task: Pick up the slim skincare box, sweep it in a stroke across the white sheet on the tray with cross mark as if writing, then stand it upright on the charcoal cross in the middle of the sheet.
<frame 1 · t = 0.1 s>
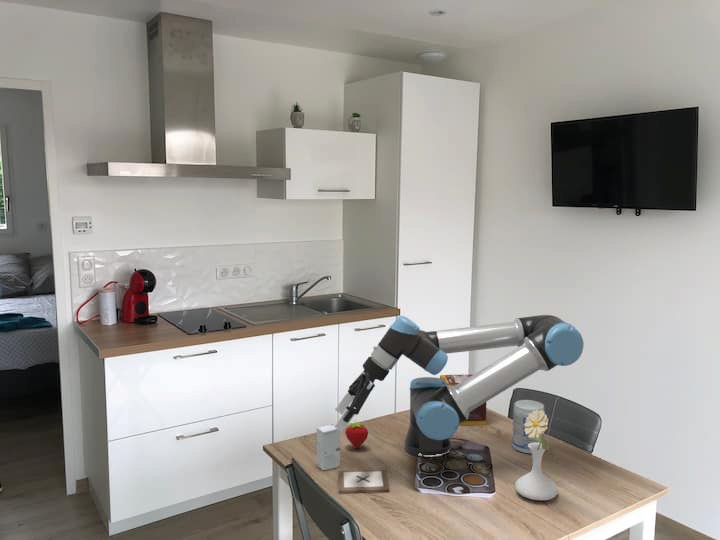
hand: (338, 420, 178), 15 cm above the table, tool tilted 35°, fingers open, 13 cm apart
supplement tub: (527, 448, 194), on the table
supplement box: (462, 420, 218), on the table
skincare box: (328, 466, 183), on the table
flower in vase: (536, 496, 164), on the table
strawberry: (356, 448, 195), on the table
tray with cross mark: (363, 482, 172), on the table
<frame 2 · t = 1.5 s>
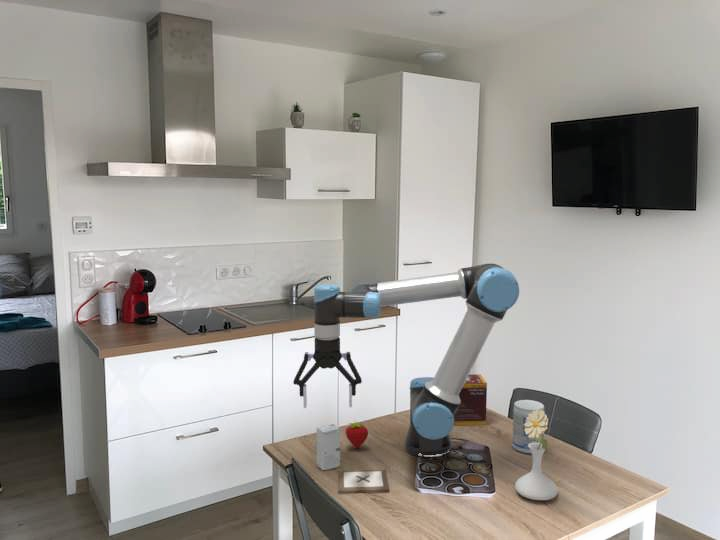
hand: (327, 406, 180), 19 cm above the table, tool pointing down, fingers open, 13 cm apart
nothing on the table moved.
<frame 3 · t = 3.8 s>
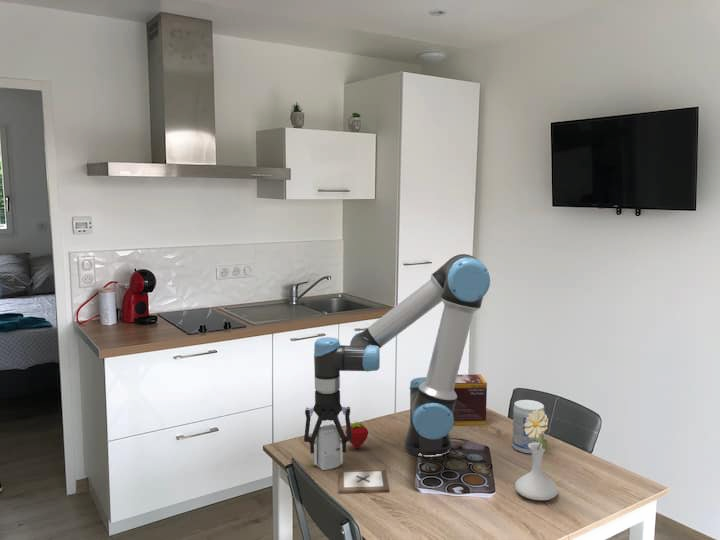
hand: (328, 462, 182), 1 cm above the table, tool pointing down, fingers closed on skincare box, 7 cm apart
skincare box: (328, 466, 183), on the table, touching gripper
everything else where it was.
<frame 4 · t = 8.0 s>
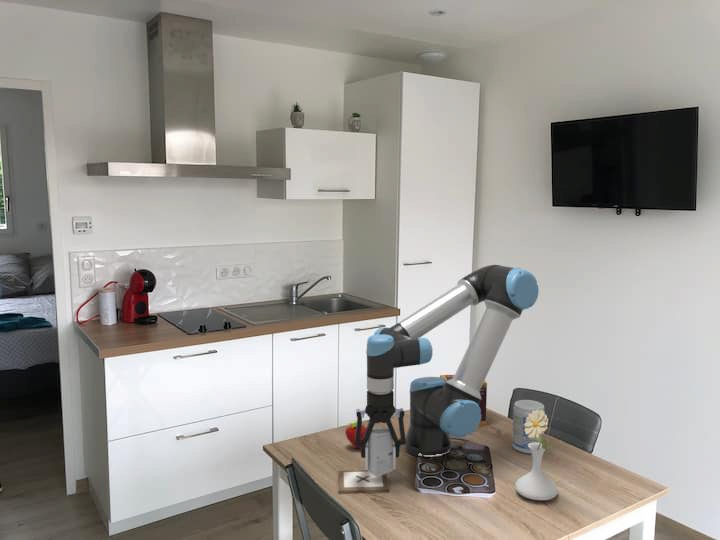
hand: (380, 467, 172), 4 cm above the table, tool pointing down, fingers closed on skincare box, 7 cm apart
skincare box: (380, 471, 172), point 3 cm above the table, touching gripper
everything else where it was.
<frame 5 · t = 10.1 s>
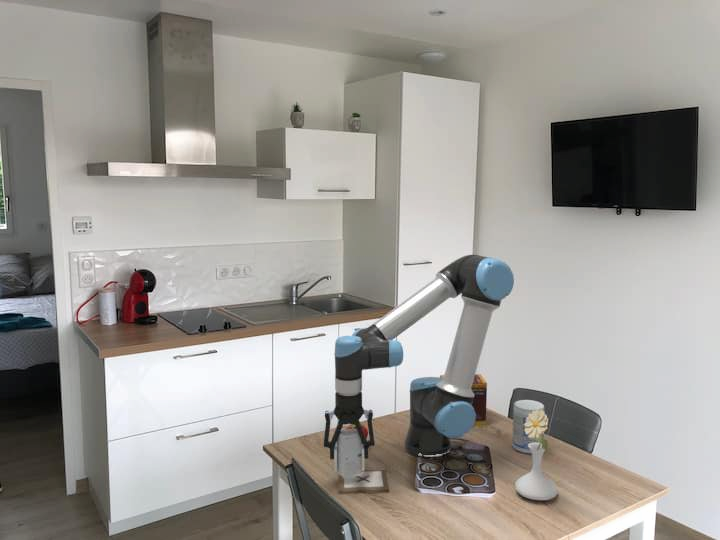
hand: (349, 469, 171), 4 cm above the table, tool pointing down, fingers closed on skincare box, 7 cm apart
skincare box: (349, 473, 171), point 3 cm above the table, touching gripper
everything else where it was.
when the fingers open (3 cm above the table, at t = 12.1 s): skincare box stays where it is, resting on tray with cross mark.
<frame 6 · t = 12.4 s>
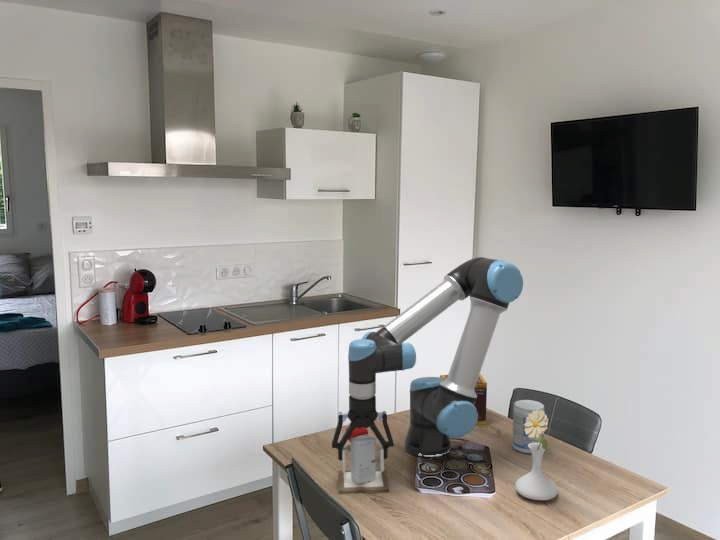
hand: (362, 469, 172), 4 cm above the table, tool pointing down, fingers open, 10 cm apart
skincare box: (363, 479, 172), point 1 cm above the table, touching tray with cross mark
everything else where it was.
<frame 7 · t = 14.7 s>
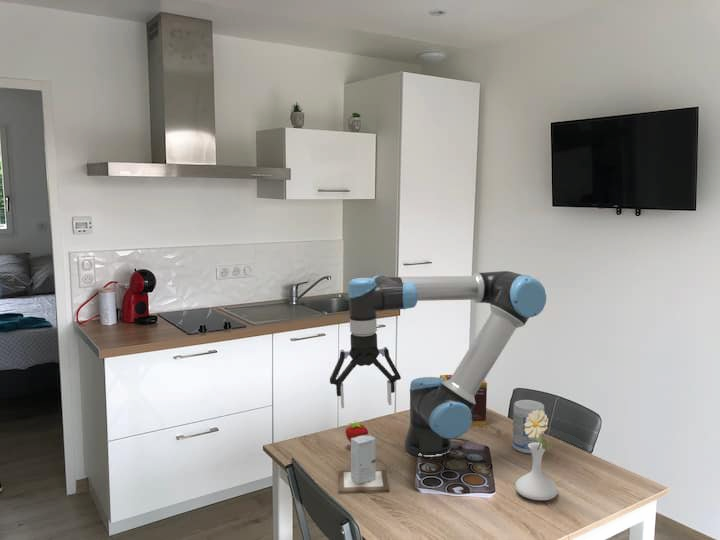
hand: (366, 405, 173), 22 cm above the table, tool pointing down, fingers open, 13 cm apart
nothing on the table moved.
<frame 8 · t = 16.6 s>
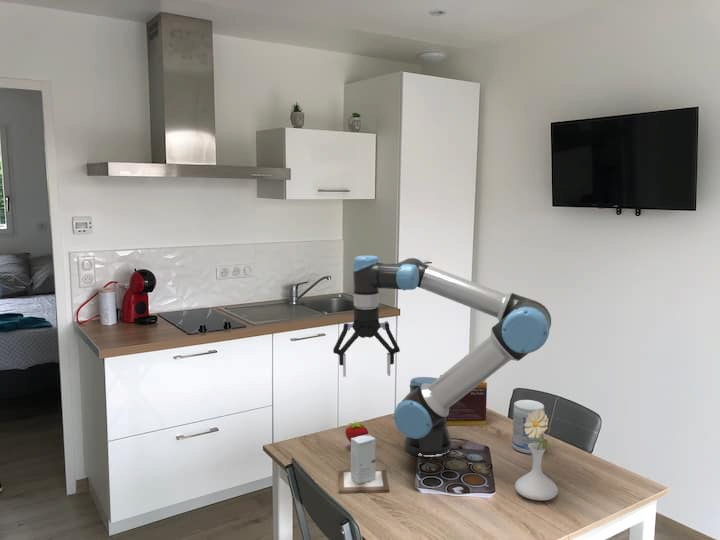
hand: (366, 375, 184), 27 cm above the table, tool pointing down, fingers open, 13 cm apart
nothing on the table moved.
at the end: skincare box 0.1 cm off-centre on the tray with cross mark, point 0.9 cm above the tray with cross mark's base; skincare box tilted 0°; the gripper is holding nothing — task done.
